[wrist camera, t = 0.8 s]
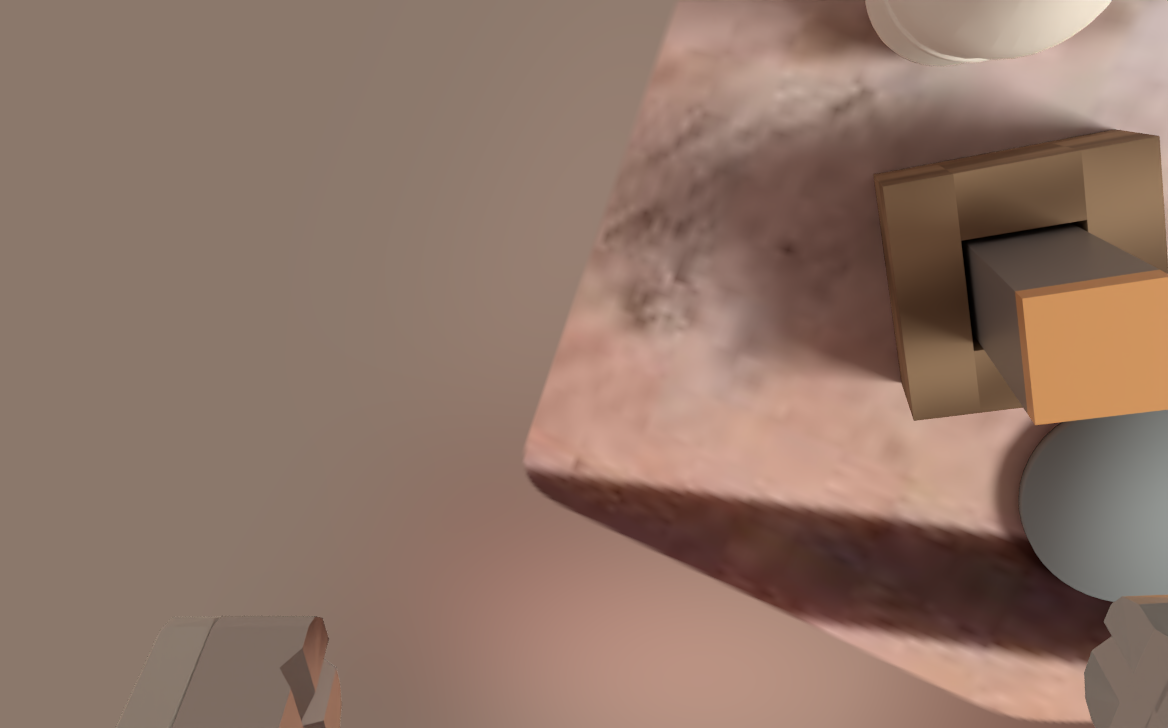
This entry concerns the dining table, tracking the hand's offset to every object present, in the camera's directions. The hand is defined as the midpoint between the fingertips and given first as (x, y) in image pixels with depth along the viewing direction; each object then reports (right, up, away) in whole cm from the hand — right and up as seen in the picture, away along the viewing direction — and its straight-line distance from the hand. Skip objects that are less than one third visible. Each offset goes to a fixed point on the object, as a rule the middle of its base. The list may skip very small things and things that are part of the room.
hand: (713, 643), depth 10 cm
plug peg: (+19, +8, +37) cm, 42 cm away
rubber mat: (+27, -4, +40) cm, 48 cm away
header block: (+20, +8, +38) cm, 43 cm away
